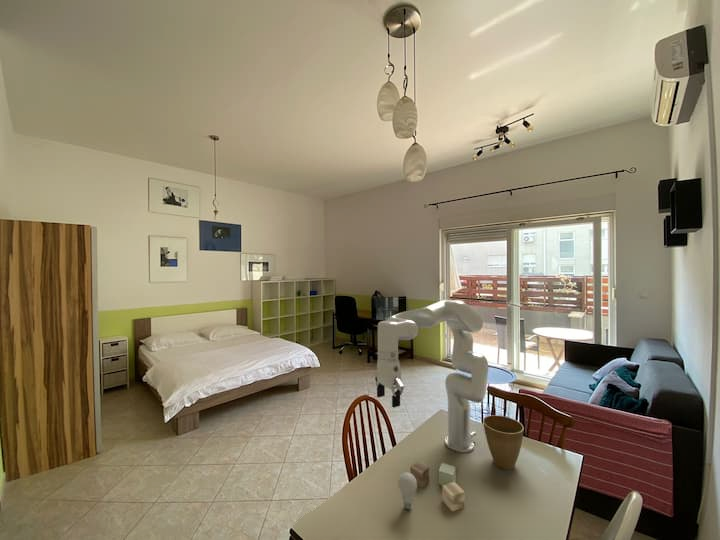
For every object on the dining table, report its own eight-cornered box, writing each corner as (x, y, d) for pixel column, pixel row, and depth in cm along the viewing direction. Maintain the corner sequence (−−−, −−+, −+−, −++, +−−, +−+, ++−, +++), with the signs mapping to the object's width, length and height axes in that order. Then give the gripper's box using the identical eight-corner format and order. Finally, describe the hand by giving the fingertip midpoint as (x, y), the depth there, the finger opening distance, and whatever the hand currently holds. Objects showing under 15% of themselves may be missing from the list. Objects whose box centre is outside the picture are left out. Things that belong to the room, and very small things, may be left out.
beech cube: (454, 496, 99) (454, 481, 99) (464, 507, 95) (464, 491, 95) (442, 500, 98) (442, 485, 98) (452, 511, 93) (451, 495, 93)
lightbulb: (404, 498, 98) (404, 465, 99) (420, 507, 94) (420, 473, 95) (394, 509, 94) (394, 475, 94) (411, 519, 90) (411, 483, 90)
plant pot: (514, 453, 124) (513, 415, 124) (531, 477, 109) (530, 434, 109) (478, 451, 125) (478, 413, 125) (490, 474, 110) (490, 432, 111)
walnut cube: (417, 474, 111) (417, 460, 111) (429, 480, 107) (429, 466, 107) (410, 480, 107) (410, 467, 107) (422, 487, 104) (421, 473, 104)
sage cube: (442, 476, 109) (442, 462, 110) (455, 480, 107) (455, 467, 107) (438, 484, 105) (438, 470, 105) (453, 489, 103) (452, 475, 103)
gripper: (410, 359, 101) (411, 408, 101) (383, 348, 116) (383, 391, 116) (393, 362, 97) (393, 413, 97) (367, 350, 112) (367, 395, 112)
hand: (388, 401), depth 106 cm, fingers open, 9 cm apart
